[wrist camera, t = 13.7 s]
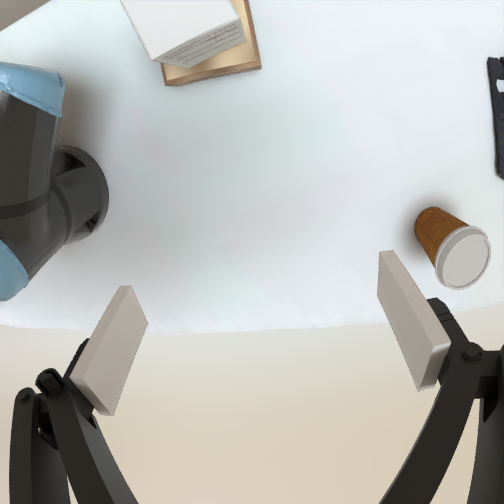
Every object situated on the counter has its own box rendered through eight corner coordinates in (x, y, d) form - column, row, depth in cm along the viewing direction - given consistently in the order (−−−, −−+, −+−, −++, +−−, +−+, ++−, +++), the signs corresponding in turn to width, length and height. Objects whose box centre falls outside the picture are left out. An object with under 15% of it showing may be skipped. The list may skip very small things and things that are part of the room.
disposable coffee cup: (462, 221, 44) (502, 256, 33) (426, 260, 48) (458, 303, 37) (433, 185, 41) (476, 216, 31) (394, 229, 45) (427, 270, 35)
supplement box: (161, 20, 26) (114, -7, 15) (221, -9, 25) (201, -53, 14) (187, 71, 30) (148, 62, 19) (248, 43, 28) (242, 17, 17)
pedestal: (177, 86, 36) (163, 85, 30) (163, 14, 31) (148, 3, 25) (261, 68, 35) (261, 64, 29) (246, -5, 30) (243, -20, 24)
